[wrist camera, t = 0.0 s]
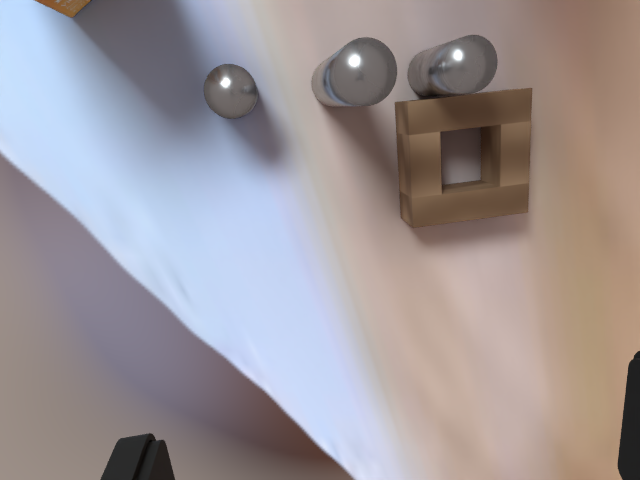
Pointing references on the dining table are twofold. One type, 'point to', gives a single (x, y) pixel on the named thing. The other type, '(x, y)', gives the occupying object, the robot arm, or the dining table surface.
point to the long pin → (356, 74)
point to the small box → (65, 6)
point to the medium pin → (454, 67)
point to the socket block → (496, 156)
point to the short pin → (230, 91)
